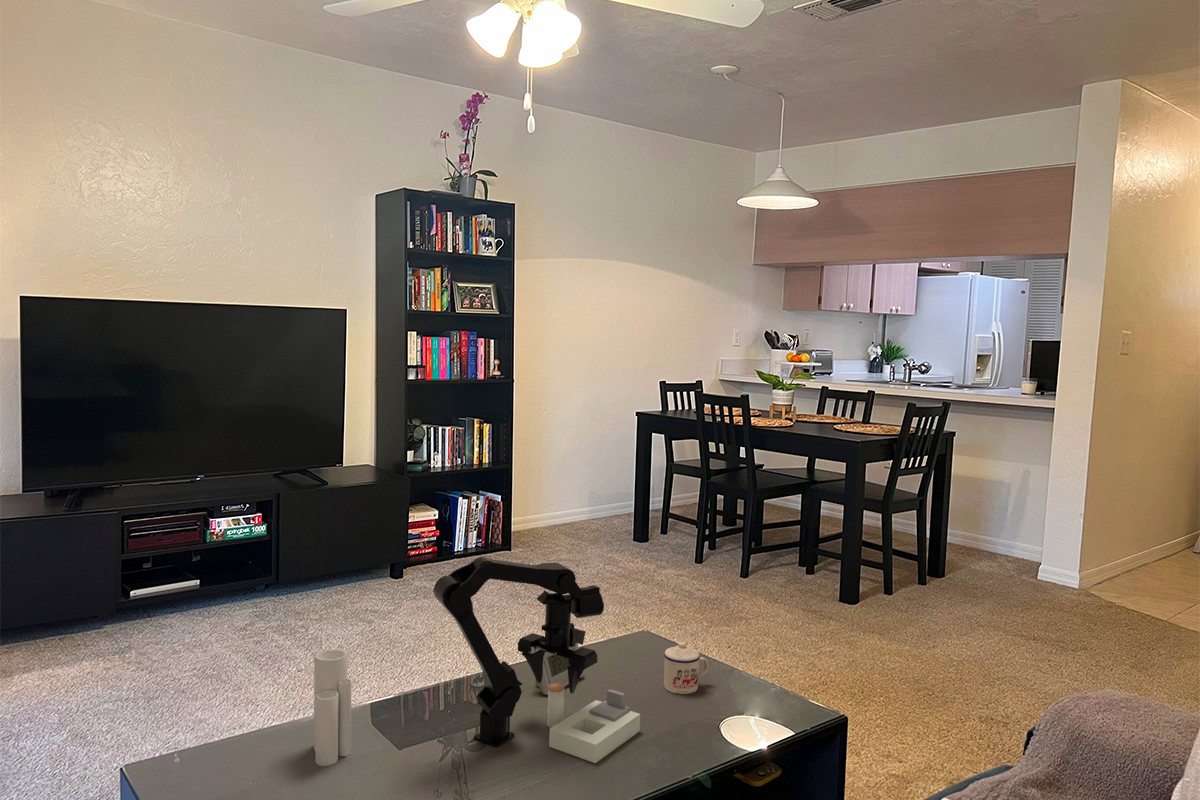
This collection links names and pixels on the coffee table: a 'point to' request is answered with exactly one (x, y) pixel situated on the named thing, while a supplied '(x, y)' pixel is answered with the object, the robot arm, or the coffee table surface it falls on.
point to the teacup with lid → (682, 669)
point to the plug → (555, 704)
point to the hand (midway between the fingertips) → (555, 687)
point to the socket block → (592, 733)
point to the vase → (331, 707)
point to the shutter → (611, 706)
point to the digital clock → (555, 670)
